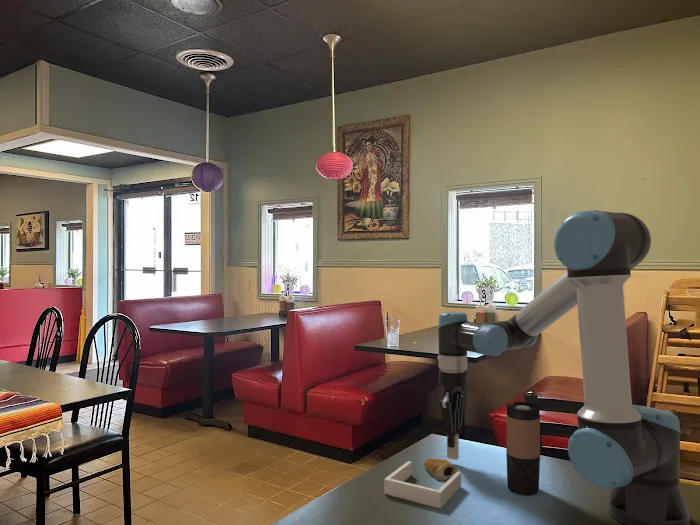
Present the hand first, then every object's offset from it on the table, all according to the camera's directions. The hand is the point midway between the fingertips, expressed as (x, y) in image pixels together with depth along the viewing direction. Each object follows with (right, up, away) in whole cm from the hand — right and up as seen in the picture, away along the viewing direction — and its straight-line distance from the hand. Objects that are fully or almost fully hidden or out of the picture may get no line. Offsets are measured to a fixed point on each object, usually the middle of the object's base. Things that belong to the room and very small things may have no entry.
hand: (452, 457), depth 144 cm
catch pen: (-10, -2, -16) cm, 19 cm away
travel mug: (+14, -2, -16) cm, 21 cm away
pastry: (-5, -2, -6) cm, 8 cm away
